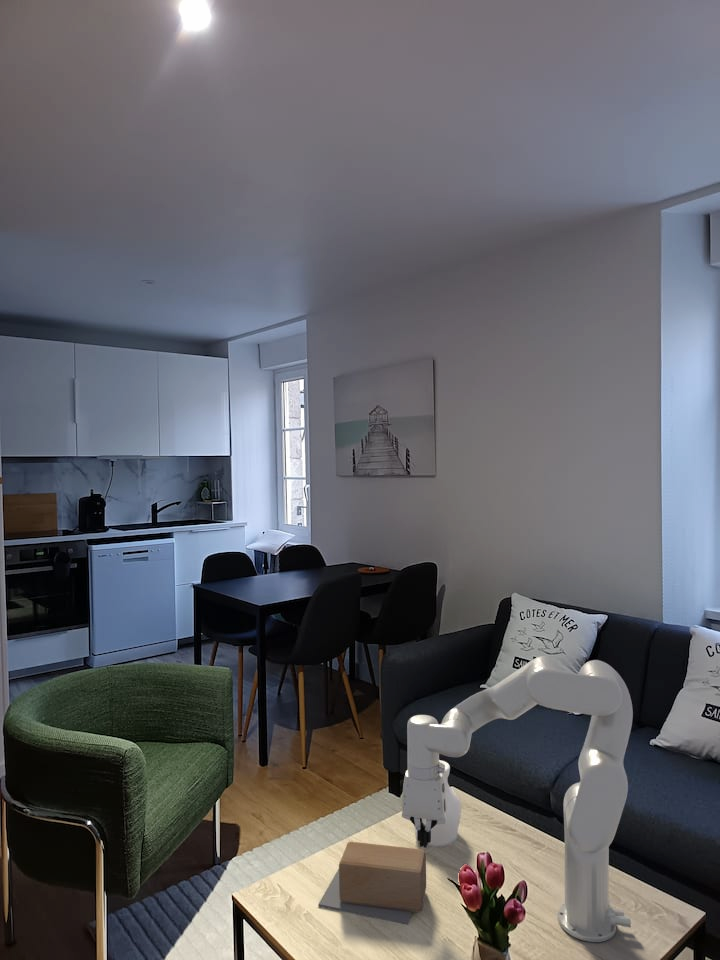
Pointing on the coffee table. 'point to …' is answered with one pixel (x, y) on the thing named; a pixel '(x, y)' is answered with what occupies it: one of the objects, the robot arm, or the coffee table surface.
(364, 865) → the block
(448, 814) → the vase
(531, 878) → the coffee table surface
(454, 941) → the coffee table surface
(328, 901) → the mat
